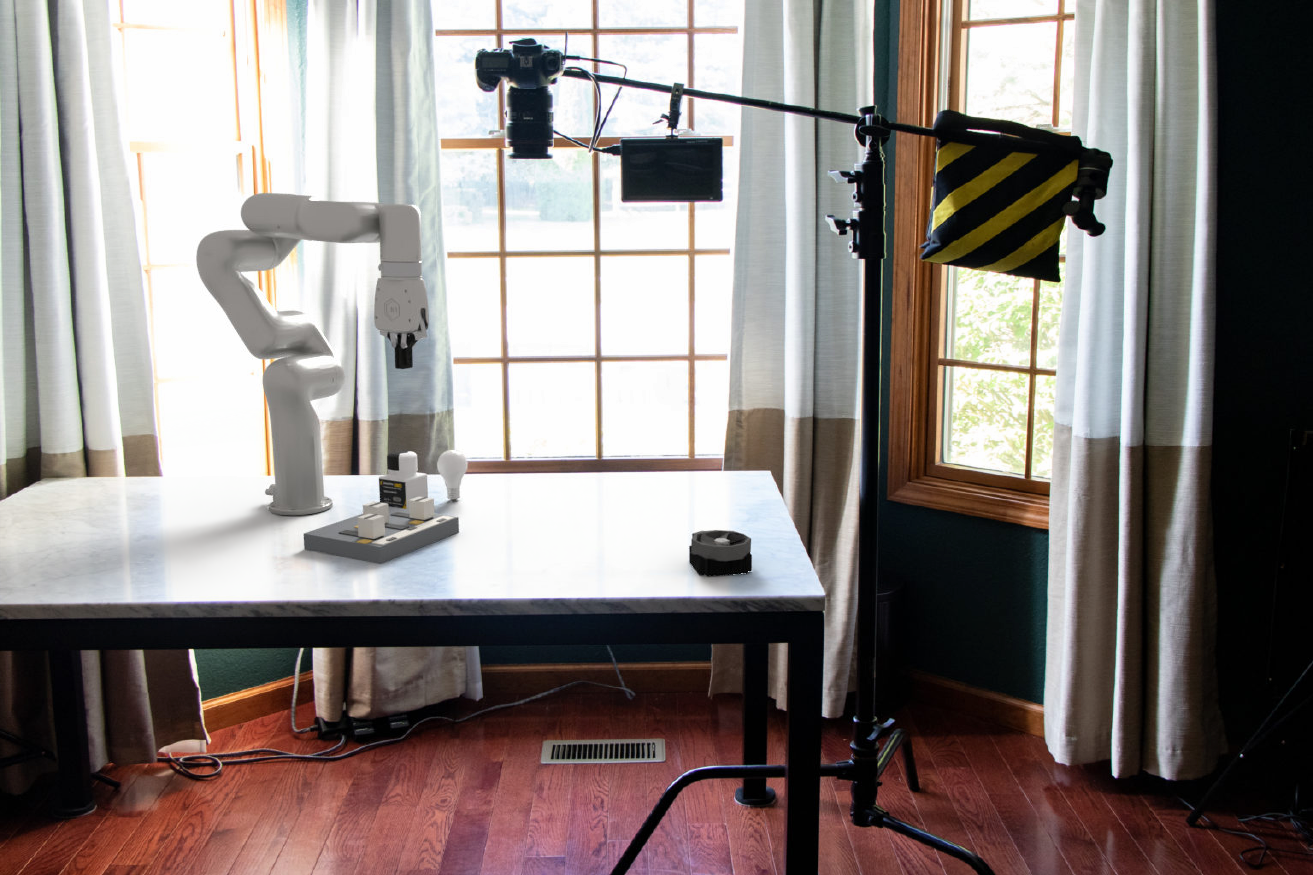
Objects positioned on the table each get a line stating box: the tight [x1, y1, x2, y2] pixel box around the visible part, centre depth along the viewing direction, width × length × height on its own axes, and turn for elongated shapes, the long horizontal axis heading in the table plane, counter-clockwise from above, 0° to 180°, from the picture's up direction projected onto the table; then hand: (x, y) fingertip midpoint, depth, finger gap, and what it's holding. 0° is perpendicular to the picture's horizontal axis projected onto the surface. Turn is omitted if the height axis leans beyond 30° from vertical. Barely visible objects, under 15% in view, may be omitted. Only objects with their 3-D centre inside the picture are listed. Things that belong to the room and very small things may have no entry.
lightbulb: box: [436, 449, 469, 502], centre depth 230 cm, size 6×6×11 cm
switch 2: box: [358, 514, 385, 539], centre depth 193 cm, size 4×3×4 cm
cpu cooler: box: [688, 529, 753, 578], centre depth 186 cm, size 10×6×10 cm
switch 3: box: [409, 496, 435, 520], centre depth 205 cm, size 4×3×4 cm
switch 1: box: [362, 501, 389, 523], centre depth 202 cm, size 4×3×4 cm
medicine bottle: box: [378, 450, 429, 509], centre depth 223 cm, size 7×7×12 cm
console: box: [303, 506, 460, 565], centre depth 201 cm, size 18×22×3 cm
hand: (404, 367), depth 207 cm, fingers closed
